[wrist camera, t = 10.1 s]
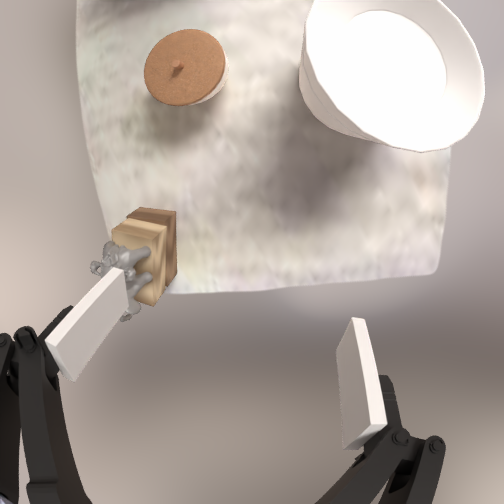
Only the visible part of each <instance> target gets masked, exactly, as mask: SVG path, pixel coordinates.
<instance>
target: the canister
mask: <svg viewBox="0 0 504 504" xmlns="http://www.w3.org/2000/svg"><path fill="white" fill-rule="evenodd" d="M299 87H300V90H301V93H302V96H303V99H304V102H305V104H306V105H307V106H308V108H309V109H310V111H311V112H312V113H313V115H314V116H315V117H316V118H317V119H318V120H320V121H321V122H322V123H323V124H325V125H326V126H327V127H328V128H331V129H333V130H335V131H338V132H340V133H342V134H344V135H349V136H353V137H357V138H361V139H365V140H368V141H372V142H376V143H379V144H383V145H386V146H390V147H393V148H399V149H404V150H409V151H414V152H419V153H423V152H429V151H436V150H443V149H447V148H448V147H450V146H452V145H453V144H455V143H457V142H458V141H460V140H462V139H463V138H465V137H466V136H467V134H468V133H469V132H470V130H471V129H472V127H473V126H474V125H475V123H476V122H477V120H478V119H479V116H480V112H481V108H482V105H483V101H484V97H485V88H484V70H483V67H482V64H481V61H480V58H479V55H478V52H477V49H476V46H475V44H474V42H473V40H472V39H471V37H470V36H469V34H468V32H467V31H466V29H465V28H464V26H463V24H462V23H461V22H460V20H459V19H458V18H457V17H456V16H455V15H454V14H453V13H452V12H451V11H450V10H449V9H448V8H447V7H446V6H445V5H444V4H443V3H442V2H441V1H440V0H314V1H313V4H312V6H311V9H310V11H309V14H308V16H307V19H306V21H305V27H304V36H303V44H302V52H301V60H300V68H299Z"/></svg>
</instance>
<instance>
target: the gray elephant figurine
mask: <svg viewBox="0 0 504 504" xmlns="http://www.w3.org/2000/svg"><path fill="white" fill-rule="evenodd" d="M150 254H151V249H150V248H149V247H148V246H143V247H142V248H139V249H135V250H130V249H127V248H126V247H125V246H124V245H121V246H120V247H119V245H118V244H116V245H115V242H114V241H109V242H107V243H106V244H105V245H104V248H103V260H102V261H101V263H99V262H97V261H93V262H92V263H91V267H90V268H91V272H92V273H94V274H96V275H100V276H101V278H103V277H104V276H105V275H106V274H107V273H108V272H109V271H110V270H111V269H112V268H113V267H114V268H118V269H122V270H124V276H125V283H126V291H127V297H128V304H129V307H128V308H127V309H126V311H125V312H127V313H129V314H128V315H126V316H123V315H122V316H121V317H120V321H121V322H124V321H127V320H130V319H131V317H132V316H131V314H137V313H138V312H139V311H140V310H141V305H140V303H139V302H137V301H136V300H135V299H134V297H135V296H136V294H137V293H138V292H139V291H140V290H141V288H142V287H143V286H144V285H145V284H146V283H148V282H150V281H151V280H152V278H153V277H152V274H151V273H150V272H144V273H142V274H139V275H136V271H135V269H134V268H133V267H134V265H135V264H136V262H137V261H139V260H141V259H142V258H146V257H148V256H150ZM99 267H101V273H98V272H97V269H98V268H99Z"/></svg>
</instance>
